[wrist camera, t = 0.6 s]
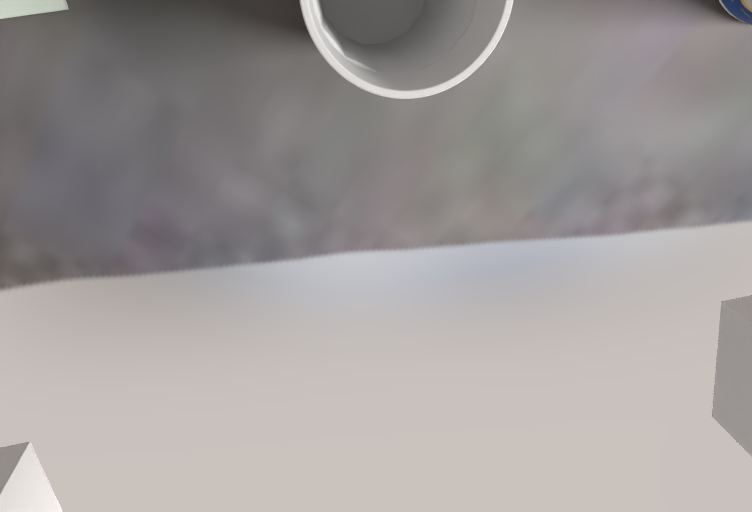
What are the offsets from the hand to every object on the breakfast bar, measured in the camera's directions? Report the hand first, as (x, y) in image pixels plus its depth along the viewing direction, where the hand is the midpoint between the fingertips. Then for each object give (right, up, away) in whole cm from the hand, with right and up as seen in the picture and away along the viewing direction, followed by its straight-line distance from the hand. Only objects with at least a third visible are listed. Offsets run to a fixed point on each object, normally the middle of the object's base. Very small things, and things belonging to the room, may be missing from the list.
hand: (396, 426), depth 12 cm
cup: (-1, +18, +22) cm, 28 cm away
